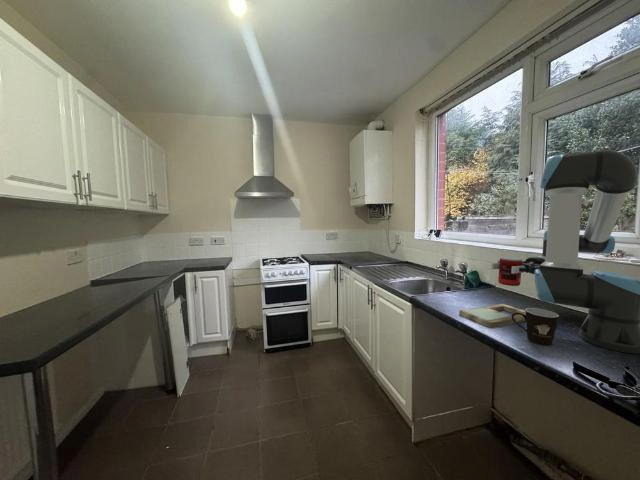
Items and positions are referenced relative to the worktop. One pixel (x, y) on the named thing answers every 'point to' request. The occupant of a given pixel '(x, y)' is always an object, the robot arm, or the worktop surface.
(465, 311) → the board
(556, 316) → the coffee mug
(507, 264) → the canned food
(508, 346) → the worktop surface
